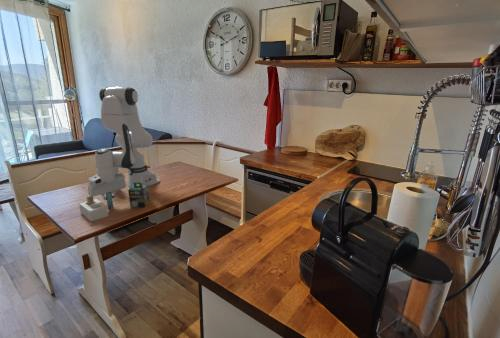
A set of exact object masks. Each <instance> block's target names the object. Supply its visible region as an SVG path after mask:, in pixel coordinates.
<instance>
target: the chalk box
mask: <svg viewBox="0 0 500 338" xmlns="http://www.w3.org/2000/svg"><path fill="white" fill-rule="evenodd" d="M136 184H139V185H136ZM127 191H128V198H129V199H128V200H129V206H130V208H146V207H147V206H148V205H149V203H150V201H151V199H150V190H149V186H148V185H142V183H134V185H133V186H132V187H129V189H128V190H127Z"/></svg>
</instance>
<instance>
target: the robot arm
mask: <svg viewBox="0 0 500 338" xmlns="http://www.w3.org/2000/svg"><path fill="white" fill-rule="evenodd" d="M98 95H99V99H100V101H101V106H100V107H101V108H100V117H101V118H100V121H101V124H102V125H103V127H104V128H105V129H107V130H108V131H111V132H113V133H115V134H116V135H115V137H114V141H115V143H116V144H117V146H119V147H120V148H122V150H123V151H119V150H118V151H115V150H111V149H110V148H108V147H102V148H99V149H97V150H96V151H95V154H94V159H95V166H96V174H94V175H93V176H91V177H89V178H88V182H89V183H88V185H87V192H88V196H92V197H93V198H94V197H97V196H101V197H102V198H103V200H104V201H107V197H106V193H108V192H111V194H112V199H114V198H115V197H116V194H117V191H119V190H123V189H125V188H126V187H127V186H128V187H129V188H131V187H132V186H133V185H134V183H142V185H148V187H150V186H152V185H156V184H157V183H160V182H161V180H160V179H159V178H158V177H157V175H156V173H155V172H153V171H152V170H149V169H150V168H151V165H148V164H146V163H145V155H144V153H142V152H141V151H139V149H144V148H150V147H151V146H152V145H153V142H154V139H153V136H152V134H151V133H149V132H148V131H147V130H146V129H145V128H144V127H143V125H142V124H141V121H140V117H139V111H138V107H137V102H138V100H139V95H138V92H137V90H136V89H135V88H133V87H129V86H126V87H125V86H105V87H102V88H101V89H100V91H99V93H98ZM138 148H139V149H138ZM113 167H118V169H119V168H120V169H121V168H123V169H127V172H128V183H126V179H125V178H126V177H125V174H124V173H119V174H116V175H115V172H114V169H113ZM136 185H139V184H136Z"/></svg>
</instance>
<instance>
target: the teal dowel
mask: <svg viewBox="0 0 500 338" xmlns="http://www.w3.org/2000/svg"><path fill="white" fill-rule="evenodd" d="M112 194H113V193H112V192H108V193H105V196H106V197H107V200H106V205H107V207H108V209H110V208H111V209H112V208H113V207H114V201H113V198H112Z"/></svg>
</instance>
